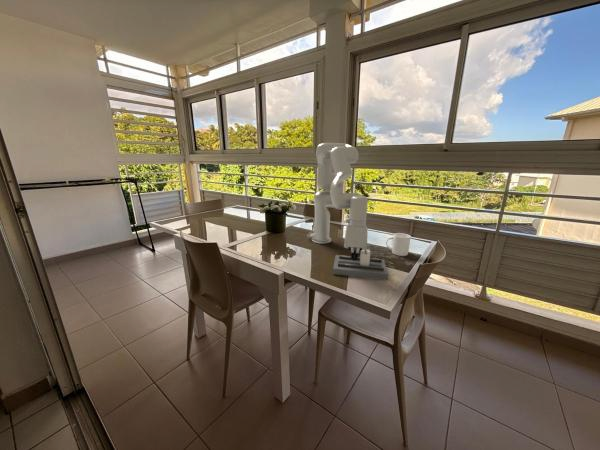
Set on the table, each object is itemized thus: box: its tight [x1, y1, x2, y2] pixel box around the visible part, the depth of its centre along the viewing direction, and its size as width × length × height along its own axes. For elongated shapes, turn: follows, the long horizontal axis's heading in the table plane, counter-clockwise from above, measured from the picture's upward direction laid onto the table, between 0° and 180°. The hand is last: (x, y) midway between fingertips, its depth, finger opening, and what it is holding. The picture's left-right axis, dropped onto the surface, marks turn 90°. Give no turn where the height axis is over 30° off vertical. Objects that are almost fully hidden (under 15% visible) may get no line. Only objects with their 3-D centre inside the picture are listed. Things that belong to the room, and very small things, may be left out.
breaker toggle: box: [359, 248, 371, 266], centre depth 113 cm, size 4×6×6 cm, turn 168°
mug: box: [386, 232, 411, 257], centre depth 134 cm, size 9×12×11 cm
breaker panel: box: [332, 254, 389, 281], centre depth 115 cm, size 24×16×4 cm, turn 78°
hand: (354, 259), depth 115 cm, fingers closed
